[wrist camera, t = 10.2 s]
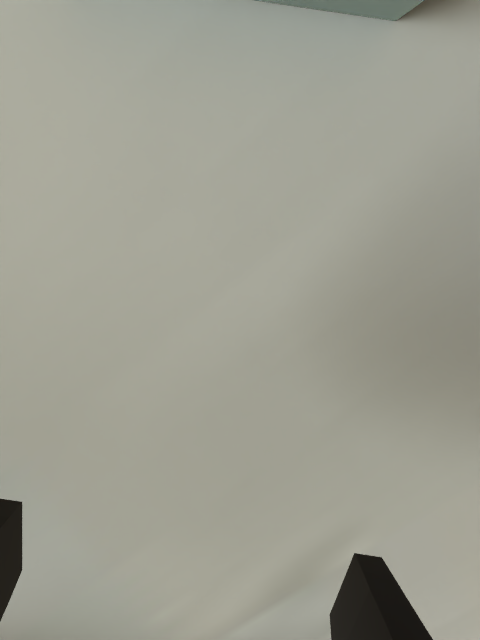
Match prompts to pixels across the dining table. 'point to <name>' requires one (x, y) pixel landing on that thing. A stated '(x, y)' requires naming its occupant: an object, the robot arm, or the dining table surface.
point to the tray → (357, 7)
